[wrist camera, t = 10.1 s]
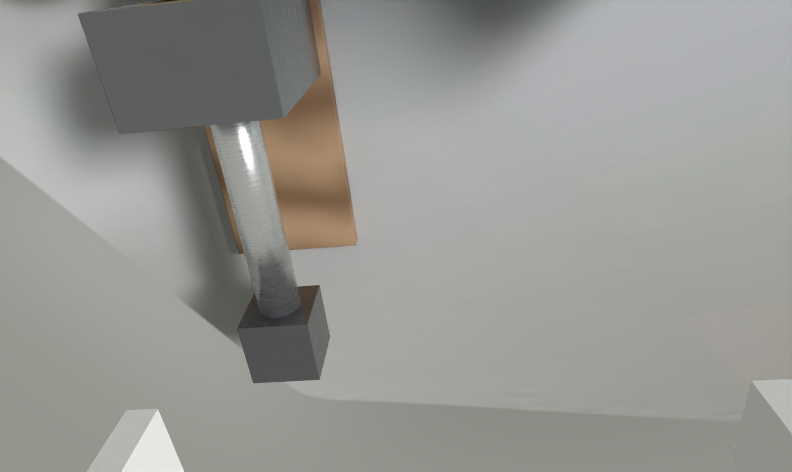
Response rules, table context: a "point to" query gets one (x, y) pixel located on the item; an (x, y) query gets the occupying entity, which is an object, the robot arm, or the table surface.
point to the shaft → (269, 267)
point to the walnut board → (307, 163)
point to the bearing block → (202, 60)
